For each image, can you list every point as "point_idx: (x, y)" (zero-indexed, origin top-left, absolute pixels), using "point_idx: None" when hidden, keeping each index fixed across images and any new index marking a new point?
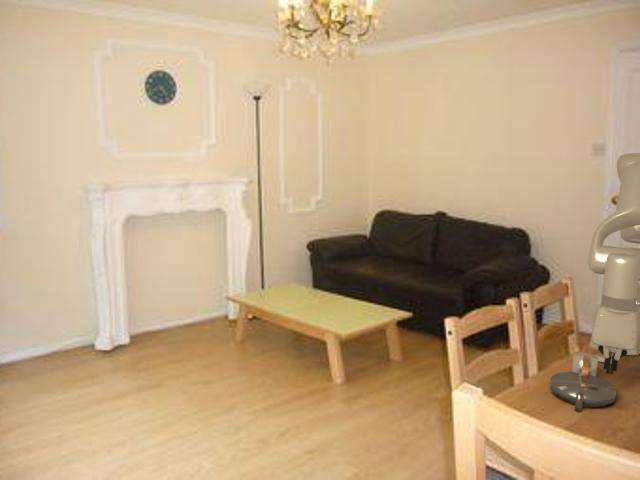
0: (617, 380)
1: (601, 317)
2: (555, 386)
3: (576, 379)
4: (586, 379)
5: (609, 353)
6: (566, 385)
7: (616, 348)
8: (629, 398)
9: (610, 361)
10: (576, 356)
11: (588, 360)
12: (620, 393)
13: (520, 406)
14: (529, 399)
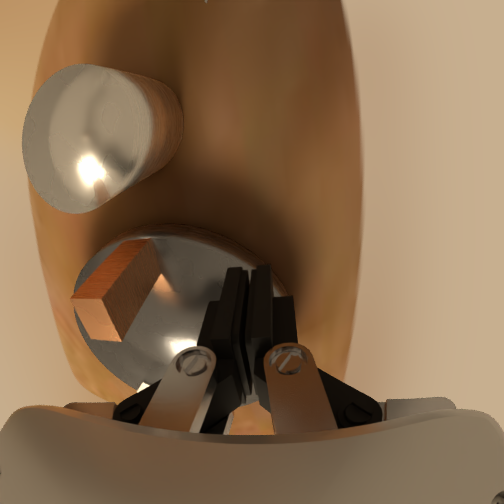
0: (276, 55)
1: None
2: (127, 382)
3: (140, 320)
4: (167, 302)
5: (222, 392)
6: (143, 373)
7: (275, 431)
8: (344, 240)
9: (250, 388)
10: (39, 181)
11: (121, 333)
12: (309, 209)
13: None
14: (111, 377)
